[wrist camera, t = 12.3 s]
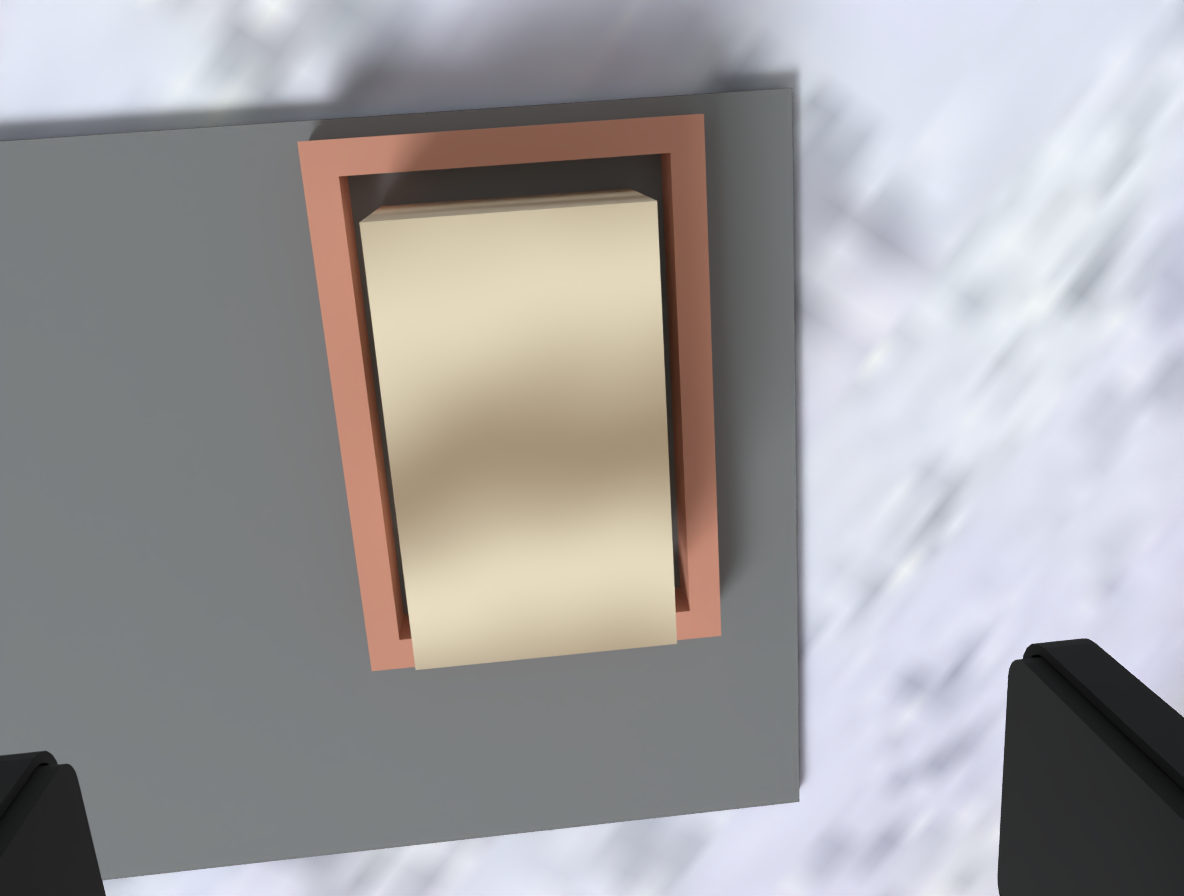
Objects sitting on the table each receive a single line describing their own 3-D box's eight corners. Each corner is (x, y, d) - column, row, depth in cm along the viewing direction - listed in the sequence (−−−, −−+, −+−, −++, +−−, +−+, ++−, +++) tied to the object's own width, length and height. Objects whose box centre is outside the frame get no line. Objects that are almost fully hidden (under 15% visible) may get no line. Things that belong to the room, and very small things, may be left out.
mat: (-72, 890, 30) (-108, 939, 29) (-288, 161, 24) (-351, 164, 23) (795, 793, 32) (814, 833, 30) (787, 88, 26) (809, 85, 24)
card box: (381, 205, 26) (359, 222, 21) (629, 188, 26) (656, 200, 22) (427, 588, 29) (415, 670, 24) (649, 567, 29) (676, 644, 25)
